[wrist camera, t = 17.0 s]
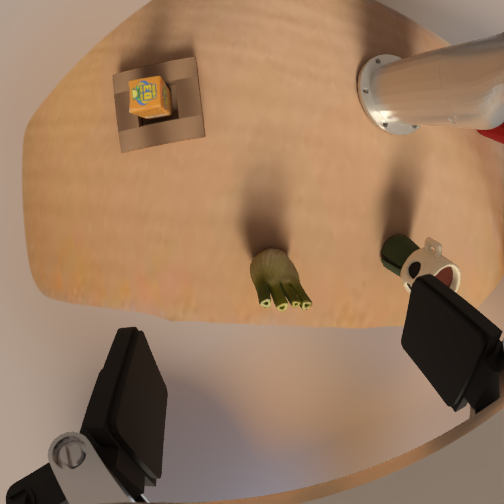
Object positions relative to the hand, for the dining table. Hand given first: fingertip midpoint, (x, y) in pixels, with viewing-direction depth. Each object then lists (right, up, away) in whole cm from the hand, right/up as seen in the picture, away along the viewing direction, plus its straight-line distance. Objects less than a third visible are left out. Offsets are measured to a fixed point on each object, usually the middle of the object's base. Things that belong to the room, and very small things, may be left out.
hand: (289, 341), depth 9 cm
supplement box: (-12, +21, +22) cm, 33 cm away
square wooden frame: (-13, +21, +23) cm, 34 cm away
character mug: (+22, +3, +35) cm, 42 cm away
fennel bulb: (+1, +2, +33) cm, 33 cm away
